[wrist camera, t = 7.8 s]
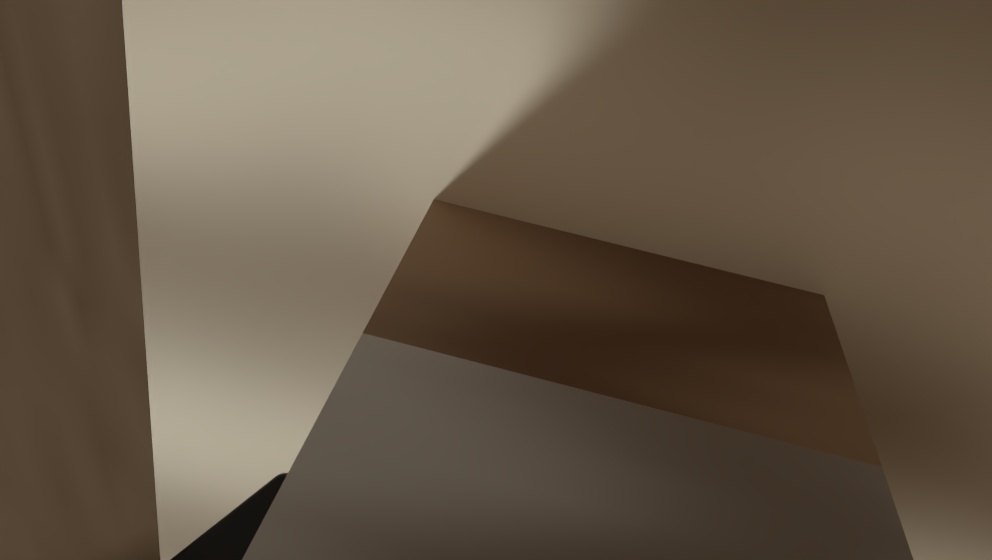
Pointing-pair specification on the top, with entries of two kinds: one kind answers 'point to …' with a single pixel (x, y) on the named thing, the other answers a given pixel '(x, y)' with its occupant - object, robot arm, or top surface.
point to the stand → (560, 199)
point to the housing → (584, 414)
